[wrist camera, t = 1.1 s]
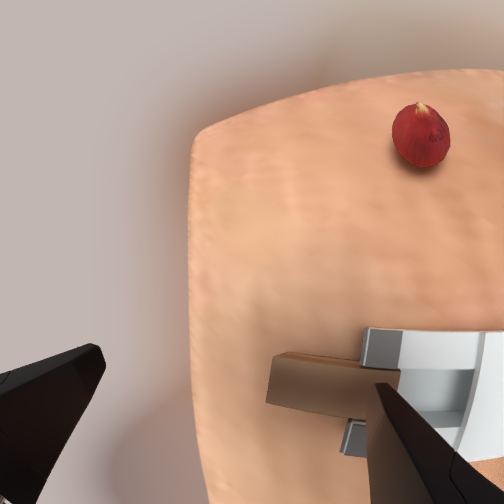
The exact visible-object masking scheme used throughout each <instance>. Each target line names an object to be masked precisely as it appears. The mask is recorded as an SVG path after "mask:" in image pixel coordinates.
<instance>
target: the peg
mask: <svg viewBox="0 0 504 504" xmlns="http://www.w3.org/2000/svg"><path fill="white" fill-rule="evenodd" d="M359 362H360V361H355V360H345V359H337V358H328V357H320V356H313V355H306V354H299V353H293V352H287V353H283V354H280V355H276V356H273V359H272V366H271V372H270V379H269V385H268V391H267V398H266V403H270V404H274V405H278V406H283V407H287V408H292V409H297V410H302V411H307V412H312V413H318V414H324V415H331V416H337V417H345V418H352V419H361V420H366V401H367V398H368V395H369V393H370V390H371V387H372V385H373V383H374V382H383V381H386V382H388V383H389V384H390V385H391V386H392V387H393V388H394V389H395V390H396V391H397V390H398V385H399V380H400V375H401V370H400V368H397V369H389V368H375V367H365V366H362V365H359Z"/></svg>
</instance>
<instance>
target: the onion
mask: <svg viewBox="0 0 504 504" xmlns="http://www.w3.org/2000/svg"><path fill="white" fill-rule="evenodd" d="M392 138H393V142H394V144H395V146H396V149H397V151H398V152H399V153H400V154H401V155H402V157H403V158H404V159H405V160H407V161H409V162H410V163H412V164H414V165H416V166H420V167H429V166H434V165H436V164H437V163H439V162H441V161H442V160H443V159H444V158H445V156H446V154H447V152H448V150H449V148H450V133H449V128H448V125H447V123H446V122H445V121H444V119H443V118H442V117H441V116H440V115H439V114H438V112H436V111H435V110H434V109H433V108H431V107H430V106H427V105H424V104H422V103H419V102H416V104H413V105H408V106H406V107H405V108H404V109H402V110H401V111H400V112H399V113H398V114H397V116H396V118H395V120H394V122H393V126H392Z"/></svg>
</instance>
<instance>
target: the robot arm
mask: <svg viewBox="0 0 504 504" xmlns="http://www.w3.org/2000/svg"><path fill="white" fill-rule="evenodd" d="M105 369H106V362H105V359H104V357H103V354H102V351H101V348H100V347H99V346H98V345H95V344H91V343H89V344H86V345H83V346H81V347H77V348H75V349H72V350H69V351H66V352H63V353H60V354H58V355H55V356H52V357H49V358H46V359H44V360H41V361H38V362H35V363H32V364H29V365H26V366H23V367H20V368H17V369H14V370H12V371H8V372H5V373H1V374H0V504H6V503H5V502H4V501H5V500H6V499H7V500H8V501H9V502H10V503H12V504H36V502H37V500H38V497H39V495H40V493H41V491H42V489H43V487H44V485H45V483H46V481H47V478H48V477H49V475H50V473H51V471H52V469H53V467H54V465H55V463H56V461H57V459H58V457H59V455H60V454H61V452H62V450H63V448H64V446H65V444H66V443H67V441H68V439H69V437H70V436H71V434H72V432H73V430H74V428H75V427H76V425H77V423H78V421H79V420H80V418H81V416H82V414H83V413H84V411H85V409H86V408H87V406H88V404H89V402H90V401H91V399H92V397H93V395H94V392H95V390H96V388H97V386H98V384H99V382H100V380H101V378H102V376H103V373H104V371H105ZM366 453H367V463H368V473H369V484H370V497H371V504H504V491H502V490H501V489H500V488H498V487H497V486H496V485H494V484H493V483H492V482H490V481H489V480H488V479H487V478H485V477H484V476H483V475H482V474H480V473H479V472H478V471H477V470H476V469H474V468H473V467H472V466H471V465H470V464H469V463H468V462H467V461H466V460H465V459H464V458H463V457H462V456H461V455H460V454H459V453H458V452H457V451H455V449H454V448H453V447H452V446H451V445H450V444H449V443H448V442H447V441H446V440H445V439H444V438H443V437H442V436H441V435H440V434H439V433H438V432H437V431H436V430H435V429H434V428H433V427H432V426H431V425H430V424H429V423H428V422H427V421H426V420H425V419H424V418H423V417H422V416H421V415H420V414H419V413H418V412H417V411H416V410H415V409H414V408H413V407H412V406H411V405H410V404H409V403H408V402H407V401H406V400H405V399H404V398H403V397H402V396H401V395H400V394H399V393H398V392H397V391H396V390H395V389H394V388H393V387H392V386H391V385H390V384H389V383H388V382H386V381H383V382H374V383H373V385H372V387H371V390H370V393H369V395H368V398H367V401H366Z"/></svg>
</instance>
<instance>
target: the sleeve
mask: <svg viewBox="0 0 504 504" xmlns="http://www.w3.org/2000/svg"><path fill="white" fill-rule="evenodd" d="M359 365H362V366H365V367H375V368H389V369H397V368H400V370H401V375H400V380H399V385H398V390H397V392H398V393H399V394H400V395H401V396H402V397H403V398H404V399H405V400H406V401H407V402H408V403H409V404H410V405H411V406H412V407H413V408H414V409H415V410H416V411H417V412H418V413H419V414H420V415H421V416H422V417H423V418H424V419H425V420H426V421H427V422H428V423H429V424H430V425H431V426H432V427H433V428H434V429H435V430H436V431H437V432H438V433H439V434H440V435H441V436H442V437H443V438H444V439H445V440H446V441H447V442H448V443H449V444H450V445H451V446H452V447H453V448H454V449H455V451H457V452H458V453H459V454H460V455H461V456H462V457H463V458H464V459H465V460H466V461H467V462H472V461H479V460H486V459H492V458H498V457H503V456H504V330H493V331H438V330H409V329H389V328H374V327H366V328H364V336H363V343H362V350H361V356H360V362H359ZM339 452H342V453H345V454H344V455H348V456H356V457H365V458H367V453H366V420H361V419H352V418H349V419H348V422H347V425H346V429H345V433H344V437H343V441H342V444H341V448H340V451H339Z"/></svg>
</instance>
